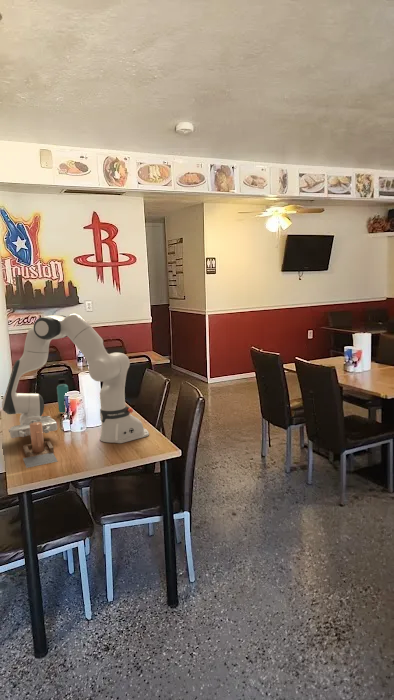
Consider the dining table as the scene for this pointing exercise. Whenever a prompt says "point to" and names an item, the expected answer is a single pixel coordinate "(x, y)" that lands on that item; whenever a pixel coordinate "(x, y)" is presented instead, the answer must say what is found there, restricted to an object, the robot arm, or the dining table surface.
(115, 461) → the dining table surface
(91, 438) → the dining table surface
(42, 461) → the mat
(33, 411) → the robot arm
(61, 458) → the dining table surface
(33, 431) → the tall peach cylinder
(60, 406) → the beverage bottle
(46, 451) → the cradle
